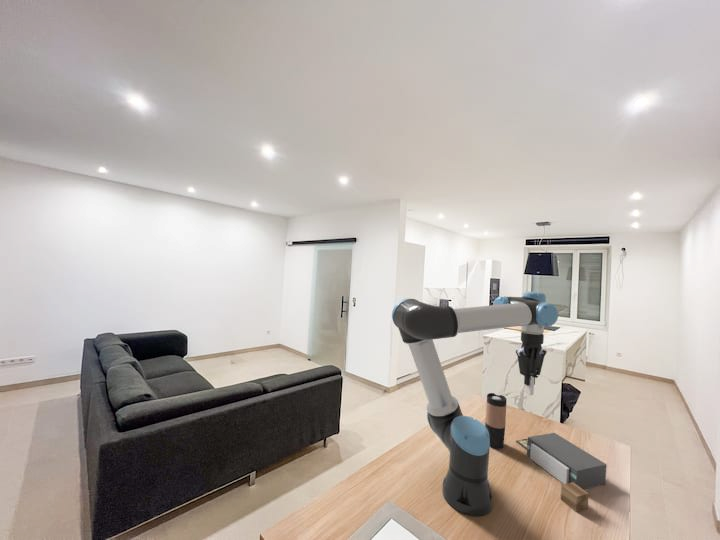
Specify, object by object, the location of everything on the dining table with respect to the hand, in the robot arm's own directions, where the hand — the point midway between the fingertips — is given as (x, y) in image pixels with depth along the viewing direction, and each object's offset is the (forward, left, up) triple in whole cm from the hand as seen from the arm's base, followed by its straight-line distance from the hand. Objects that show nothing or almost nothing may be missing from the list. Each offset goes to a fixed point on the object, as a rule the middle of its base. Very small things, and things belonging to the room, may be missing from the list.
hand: (528, 393), depth 116 cm
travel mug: (-4, +12, -27) cm, 29 cm away
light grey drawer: (+10, -7, -26) cm, 29 cm away
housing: (+11, -7, -26) cm, 29 cm away
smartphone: (+10, +3, -27) cm, 29 cm away
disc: (+9, -7, -22) cm, 25 cm away
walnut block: (-2, -21, -26) cm, 34 cm away
